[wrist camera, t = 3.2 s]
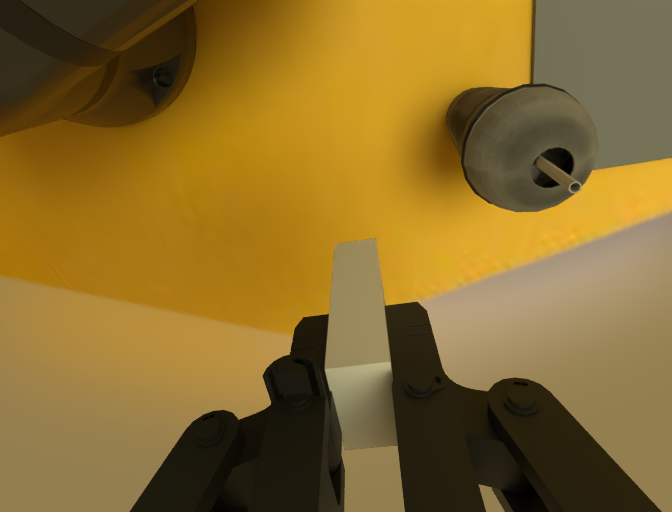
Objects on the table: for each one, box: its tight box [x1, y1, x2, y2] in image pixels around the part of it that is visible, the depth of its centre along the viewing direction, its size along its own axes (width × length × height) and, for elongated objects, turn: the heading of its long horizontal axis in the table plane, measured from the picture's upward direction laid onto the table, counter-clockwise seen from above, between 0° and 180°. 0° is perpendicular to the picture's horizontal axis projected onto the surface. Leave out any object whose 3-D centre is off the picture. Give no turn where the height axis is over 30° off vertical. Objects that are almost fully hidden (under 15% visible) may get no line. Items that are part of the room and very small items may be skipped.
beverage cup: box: [446, 83, 598, 212], centre depth 26 cm, size 7×7×20 cm
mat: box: [531, 0, 672, 170], centre depth 32 cm, size 20×16×1 cm
